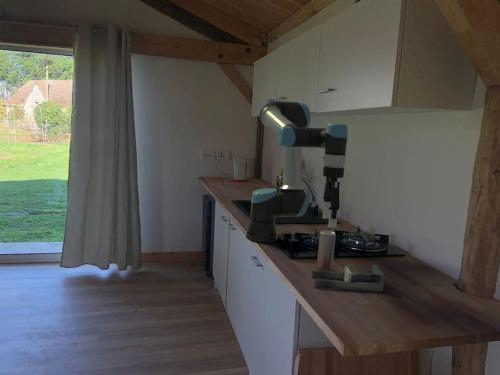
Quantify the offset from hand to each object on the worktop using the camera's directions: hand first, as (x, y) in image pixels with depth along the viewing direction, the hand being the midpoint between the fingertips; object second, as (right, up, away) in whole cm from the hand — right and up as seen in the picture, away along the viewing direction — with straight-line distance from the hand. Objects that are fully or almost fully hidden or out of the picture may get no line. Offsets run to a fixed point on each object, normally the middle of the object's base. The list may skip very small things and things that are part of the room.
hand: (329, 222), depth 150 cm
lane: (+4, -21, -8) cm, 23 cm away
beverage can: (-1, -19, +3) cm, 19 cm away
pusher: (+6, -21, -8) cm, 23 cm away
